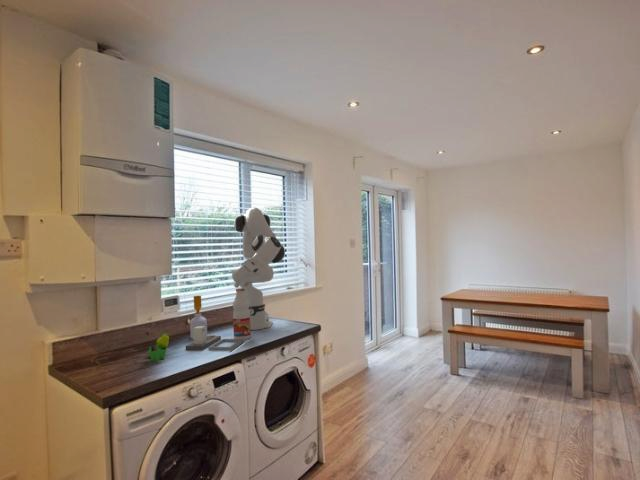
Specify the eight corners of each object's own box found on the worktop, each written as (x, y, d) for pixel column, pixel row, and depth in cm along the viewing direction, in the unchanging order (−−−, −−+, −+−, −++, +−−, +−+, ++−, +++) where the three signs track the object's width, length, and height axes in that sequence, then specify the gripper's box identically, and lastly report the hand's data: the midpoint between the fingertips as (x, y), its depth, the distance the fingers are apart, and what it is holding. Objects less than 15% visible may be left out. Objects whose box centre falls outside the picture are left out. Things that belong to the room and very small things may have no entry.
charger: (198, 345, 190) (197, 326, 191) (206, 345, 190) (205, 326, 190) (194, 347, 186) (193, 328, 186) (202, 347, 185) (201, 328, 185)
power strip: (205, 341, 203) (205, 334, 203) (221, 341, 201) (220, 334, 201) (185, 352, 183) (185, 344, 183) (202, 352, 181) (202, 344, 181)
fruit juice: (254, 337, 207) (251, 287, 207) (246, 341, 198) (243, 289, 198) (239, 336, 210) (237, 287, 210) (230, 340, 201) (228, 289, 201)
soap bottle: (190, 341, 204) (188, 297, 204) (191, 337, 213) (189, 295, 213) (207, 339, 207) (205, 295, 207) (207, 335, 216) (205, 293, 216)
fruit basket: (150, 356, 178) (149, 333, 178) (170, 353, 181) (169, 330, 182) (148, 363, 168) (147, 338, 168) (169, 360, 171) (168, 335, 171)
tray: (222, 343, 196) (222, 338, 196) (243, 343, 194) (243, 338, 194) (208, 352, 181) (208, 347, 181) (230, 352, 178) (230, 347, 178)
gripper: (262, 262, 194) (246, 281, 195) (242, 260, 174) (225, 282, 176) (270, 269, 192) (254, 289, 194) (251, 269, 172) (234, 291, 174)
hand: (240, 286), depth 185 cm, fingers open, 8 cm apart
